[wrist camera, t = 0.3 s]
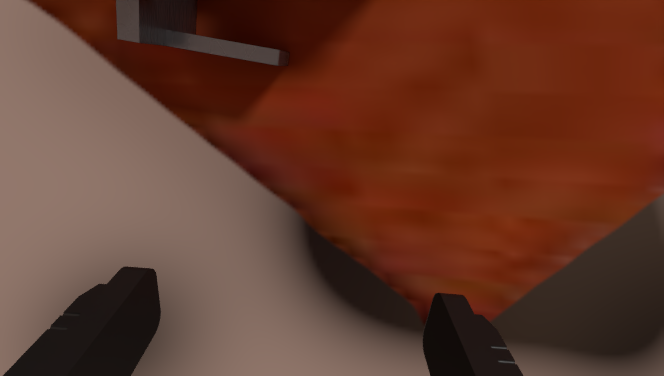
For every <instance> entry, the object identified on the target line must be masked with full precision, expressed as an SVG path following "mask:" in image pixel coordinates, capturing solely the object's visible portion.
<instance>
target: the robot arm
mask: <svg viewBox="0 0 664 376" xmlns="http://www.w3.org/2000/svg"><path fill="white" fill-rule="evenodd" d="M160 314H161V310H160V301H159V293H158V285H157V276H156V272H155V270H154V269H150V268H137V267H123V268H121V269H120V270H119V271H118V272H117V274H116V275H115V276H114V277H113V278H112V279H111V280H110V281H109V282H108V283H107V284H98V285H97V286H95V287H94V288H92V289H90V290H89V291H87V292H85V293H84V294H82V295H80V296H79V297H78V298H77V299H76V300H75V301H74V302H73V303H72V304H71V305H70V306H69V307H68V308H67V309H66V310H65V311H64V314H63V316H60V317H59V318H58V319H57V320H56V321H55V322H54V323H53V324H52V325H51V328H50V329H47V330H46V331H45V332H44V333H43V334H42V335H41V336H40V337H39V339H38V340H37V341H36V342H35V343H34V344H33V345H32V346H31V347H30V348H29V349H28V350H27V351H26V352H25V353H24V354H23V355H22V356H21V357H20V358H19V359H18V360H17V362H16V363H15V364H14V365H13V366H12V367H11V368H10V369H9V370H8V371H7V372H6V373H5V374H4V375H3V376H131V374H132V373H133V371H134V369H135V368H136V366H137V364H138V362H139V361H140V359H141V357H142V355H143V354H144V352H145V350H146V349H147V347H148V345H149V343H150V342H151V340H152V338H153V336H154V335H155V333H156V331H157V328H158V325H159V321H160ZM423 350H424V355H425V359H426V362H427V365H428V369H429V372H430V376H523V374H522V373H521V371H520V369H519V367H518V366H517V365H516V364H515V361H514V359H513V357H512V355H511V353H510V351H509V350H507V348H506V345H505V343H504V341H503V339H502V337H501V336H500V334H499V332H498V331H497V329H496V328H495V327H494V326H493V325H492V324H491V323H490V322H489V321H488V320H487V319H486V318H485V317H484V316H482V315H476V314H474V313H473V311H472V309H471V307H470V305H469V303H468V301H467V299H466V298H465V297H464V296H463V295H457V294H445V293H436V294H435V295H434V297H433V301H432V304H431V308H430V311H429V314H428V318H427V321H426V325H425V328H424V333H423Z"/></svg>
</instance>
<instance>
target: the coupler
mask: <svg viewBox="0 0 664 376" xmlns="http://www.w3.org/2000/svg"><path fill="white" fill-rule="evenodd" d="M116 12H117V39H121V40H126V41H132V42H137V43H145V44H154V45H163V46H170V47H175V48H181V49H187V50H192V51H198V52H204V53H209V54H215V55H220V56H226V57H232V58H237V59H243V60H249V61H254V62H260V63H265V64H271V65H277V66H288V60H289V52H285V51H281V50H277V49H271V48H266V47H260V46H254V45H249V44H243V43H238V42H232V41H227V40H221V39H215V38H210V37H204V36H199V35H196V13H197V0H116Z"/></svg>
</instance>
